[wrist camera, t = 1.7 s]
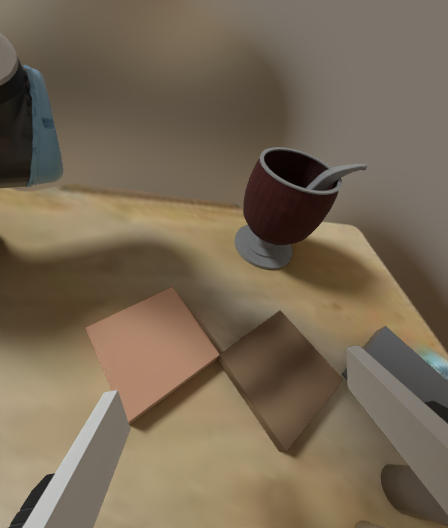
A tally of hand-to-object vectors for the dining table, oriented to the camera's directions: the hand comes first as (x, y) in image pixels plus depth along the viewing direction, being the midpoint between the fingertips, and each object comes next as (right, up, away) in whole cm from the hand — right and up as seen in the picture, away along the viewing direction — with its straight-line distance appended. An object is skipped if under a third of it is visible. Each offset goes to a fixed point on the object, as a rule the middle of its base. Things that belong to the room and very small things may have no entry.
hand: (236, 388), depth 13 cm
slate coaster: (+25, -11, +20) cm, 34 cm away
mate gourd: (+8, +10, +34) cm, 36 cm away
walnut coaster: (+7, -8, +18) cm, 21 cm away
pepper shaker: (+19, -18, +12) cm, 29 cm away
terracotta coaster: (-10, -4, +17) cm, 20 cm away
